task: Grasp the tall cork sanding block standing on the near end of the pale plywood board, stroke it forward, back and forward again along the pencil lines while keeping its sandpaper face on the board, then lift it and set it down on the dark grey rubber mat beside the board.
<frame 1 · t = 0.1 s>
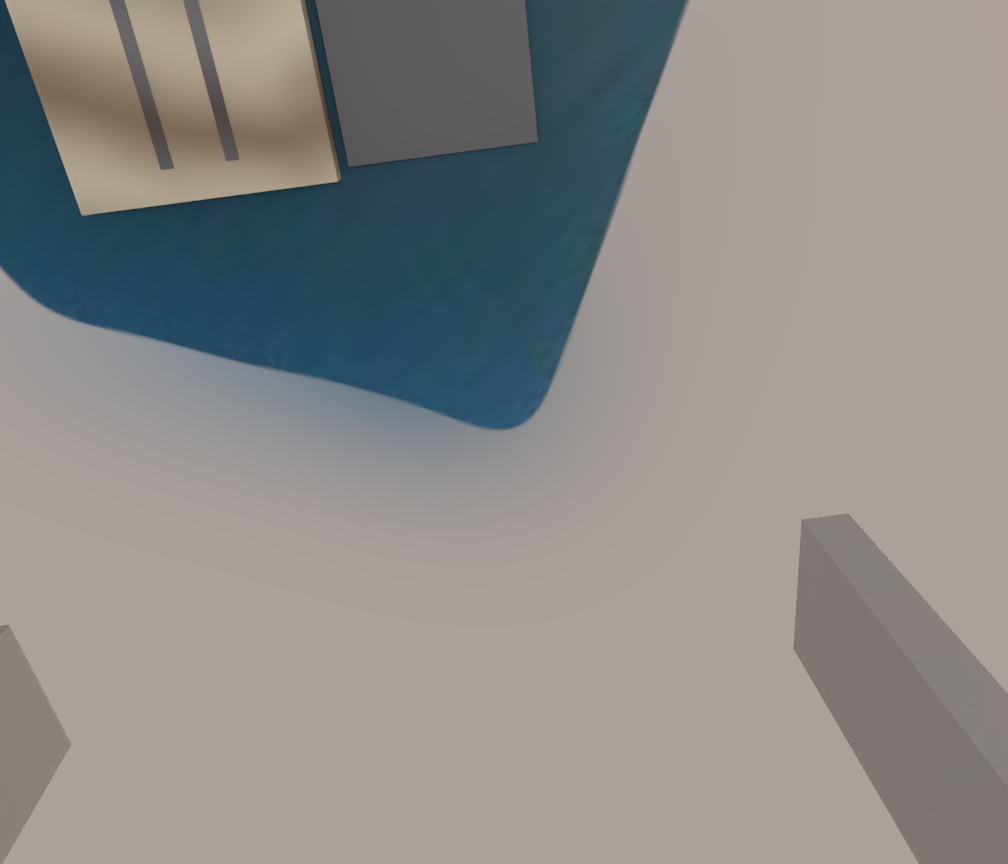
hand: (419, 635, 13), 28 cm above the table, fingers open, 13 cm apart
mat: (422, 10, 33), on the table
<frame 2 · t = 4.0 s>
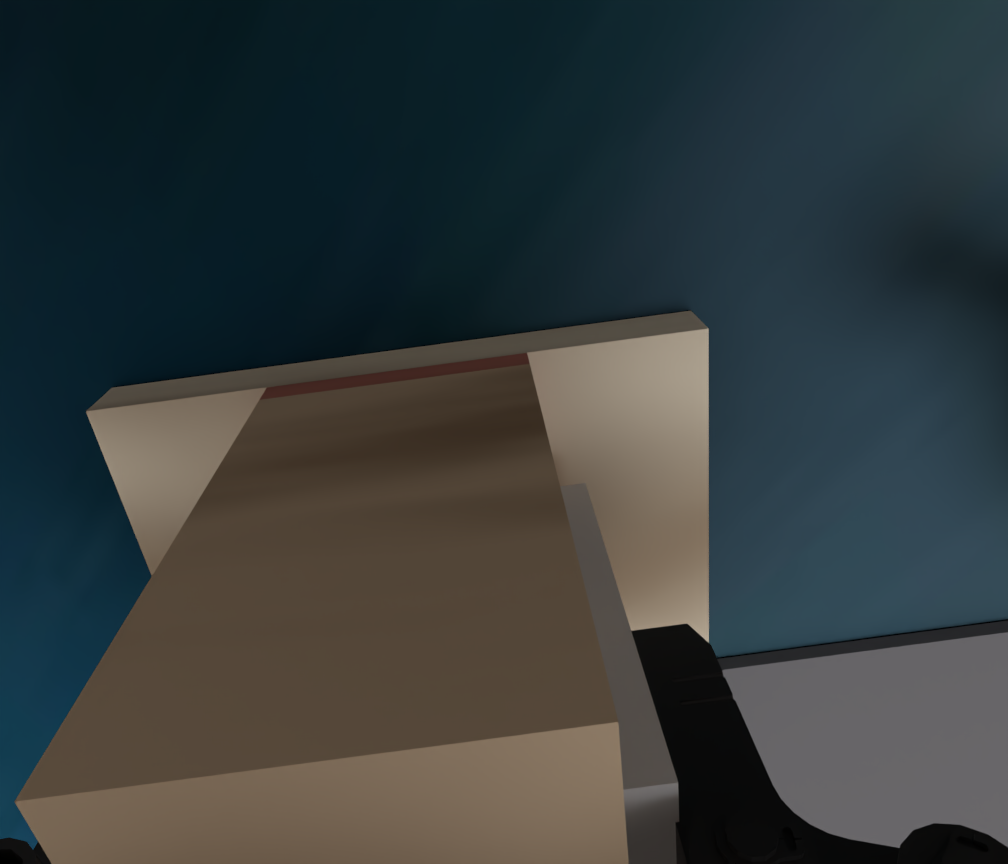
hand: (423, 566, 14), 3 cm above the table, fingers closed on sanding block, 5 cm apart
board: (474, 733, 20), on the table
sanding block: (427, 524, 16), point 1 cm above the table, touching board, gripper
mat: (864, 794, 22), on the table
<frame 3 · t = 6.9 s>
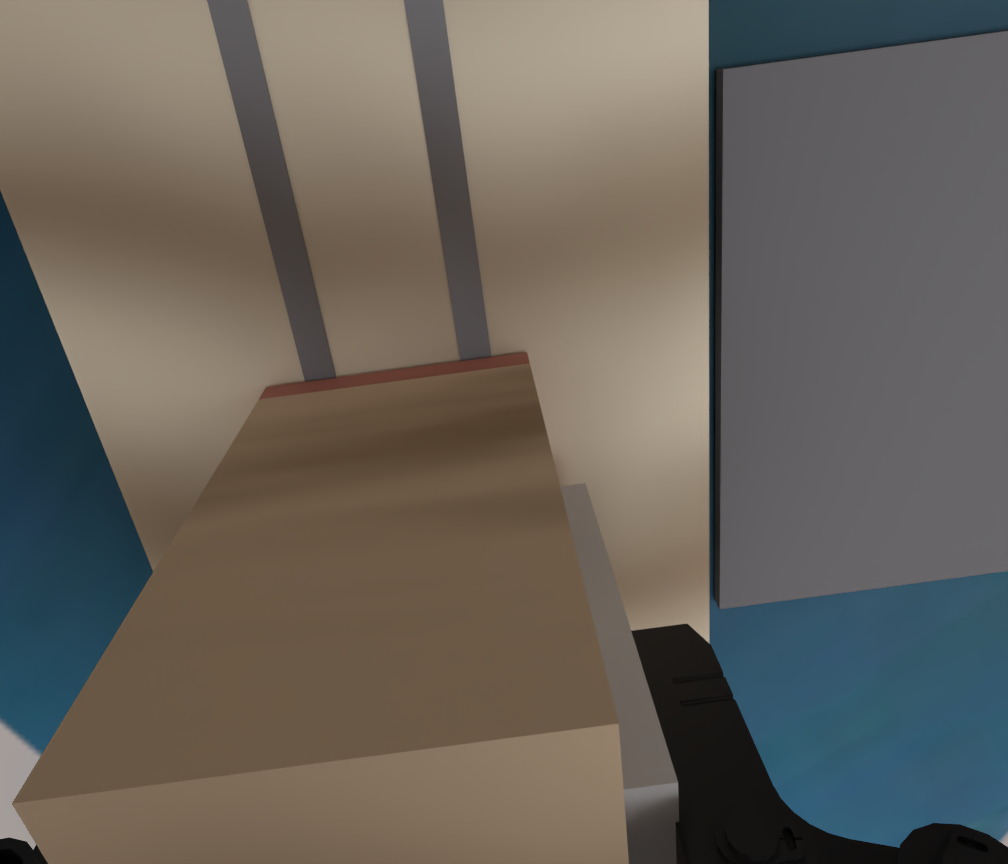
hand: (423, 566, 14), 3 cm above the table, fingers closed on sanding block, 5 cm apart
board: (374, 203, 14), on the table
sanding block: (426, 524, 16), point 1 cm above the table, touching gripper
mat: (922, 349, 16), on the table
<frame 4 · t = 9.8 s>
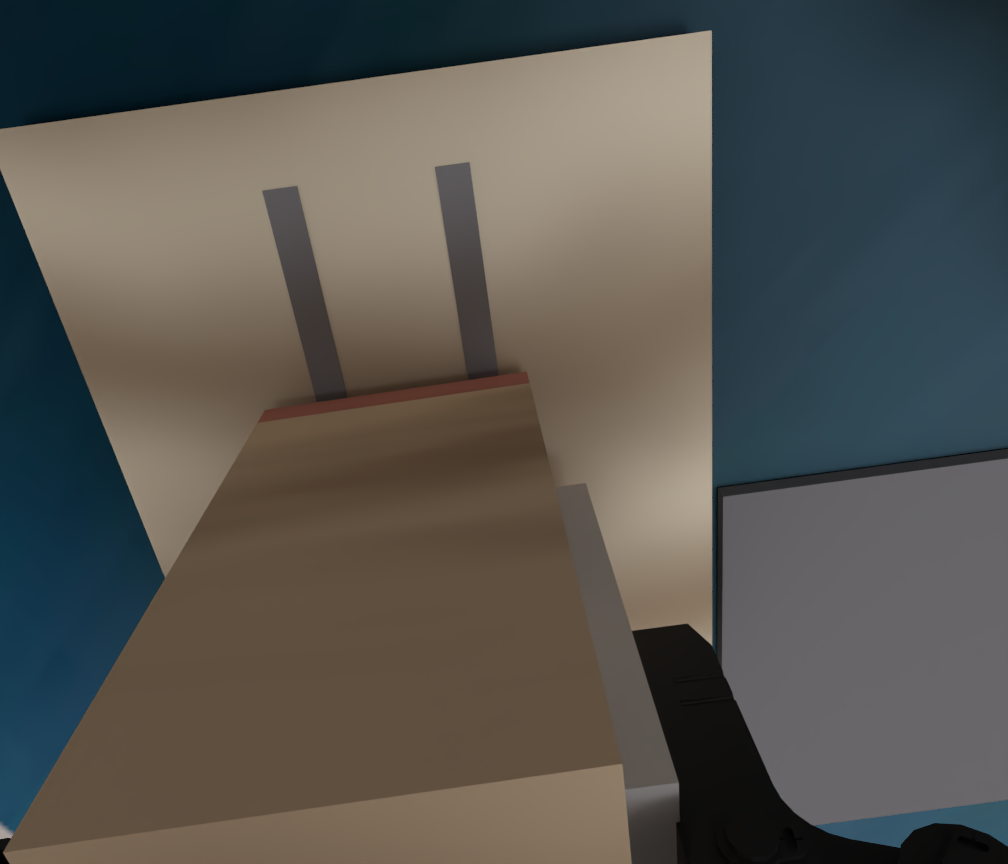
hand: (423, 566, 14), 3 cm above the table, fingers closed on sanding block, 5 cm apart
board: (451, 576, 18), on the table
sanding block: (428, 545, 16), point 2 cm above the table, touching gripper
mat: (883, 656, 20), on the table
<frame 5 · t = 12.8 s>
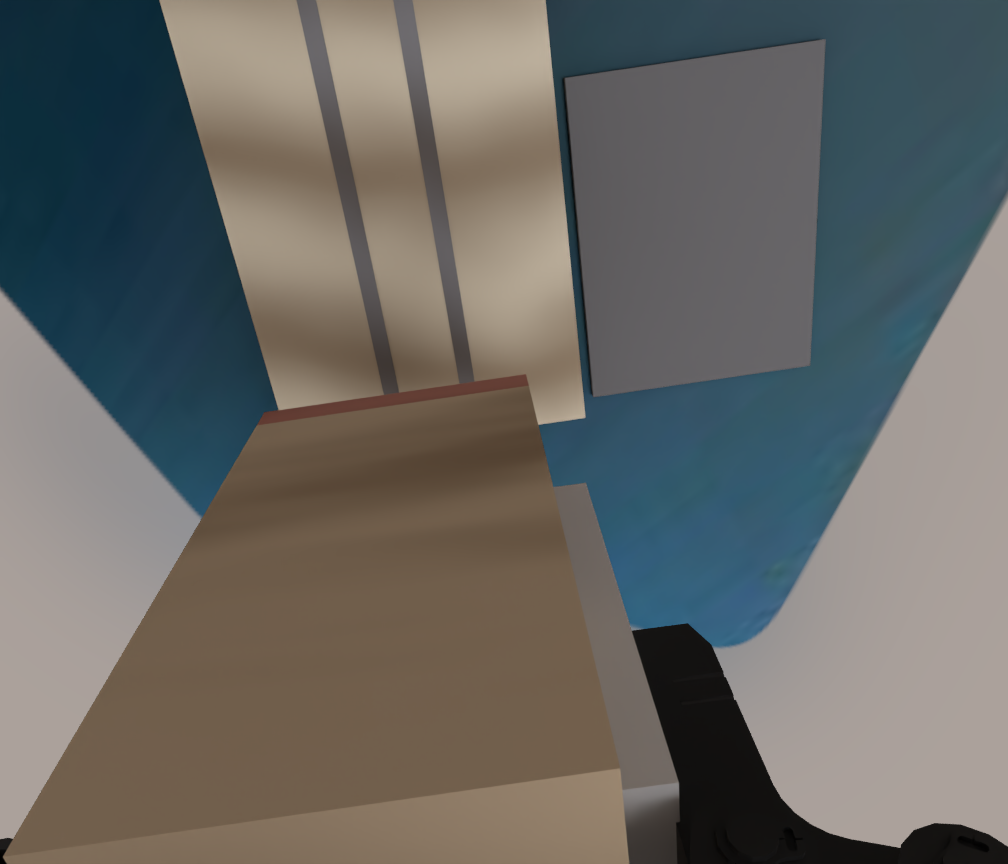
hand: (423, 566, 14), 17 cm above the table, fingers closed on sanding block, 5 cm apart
board: (387, 151, 27), on the table
sanding block: (427, 547, 16), point 15 cm above the table, touching gripper
mat: (695, 232, 29), on the table
when the fingers open (3 cm above the table, at t = 15.6 s): sanding block drops 2 cm, resting on mat.
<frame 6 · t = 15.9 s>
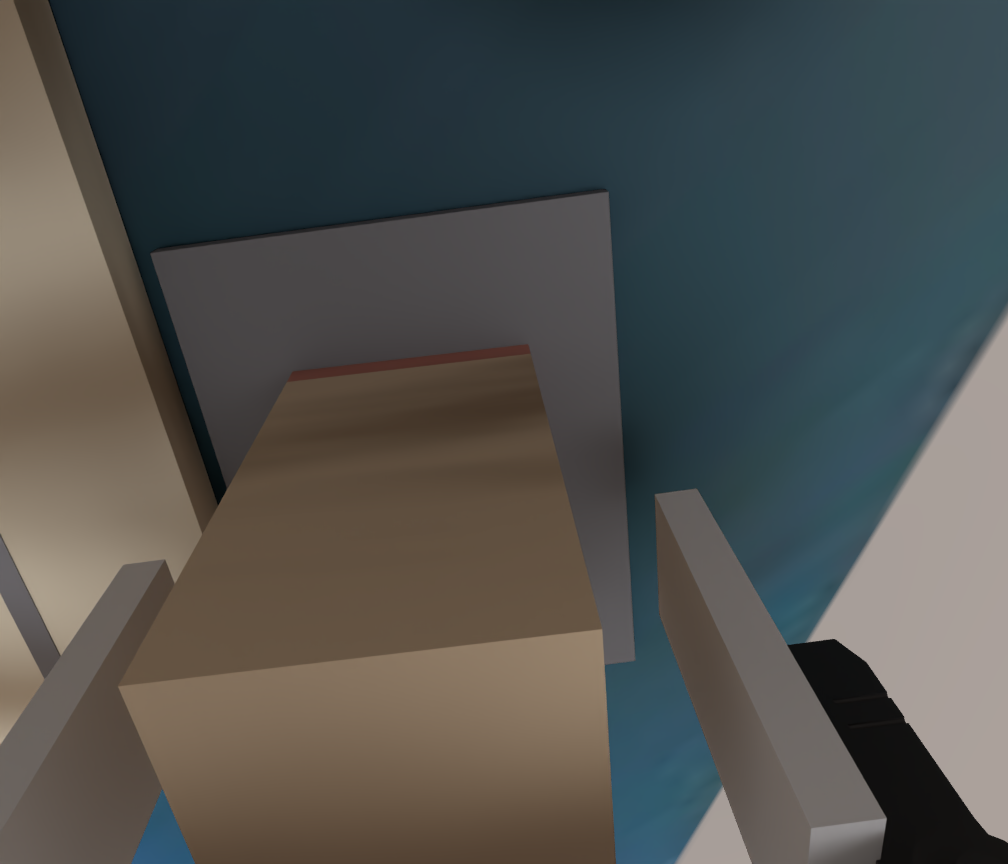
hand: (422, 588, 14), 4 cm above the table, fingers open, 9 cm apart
sanding block: (434, 499, 17), resting on mat
mat: (430, 479, 18), on the table
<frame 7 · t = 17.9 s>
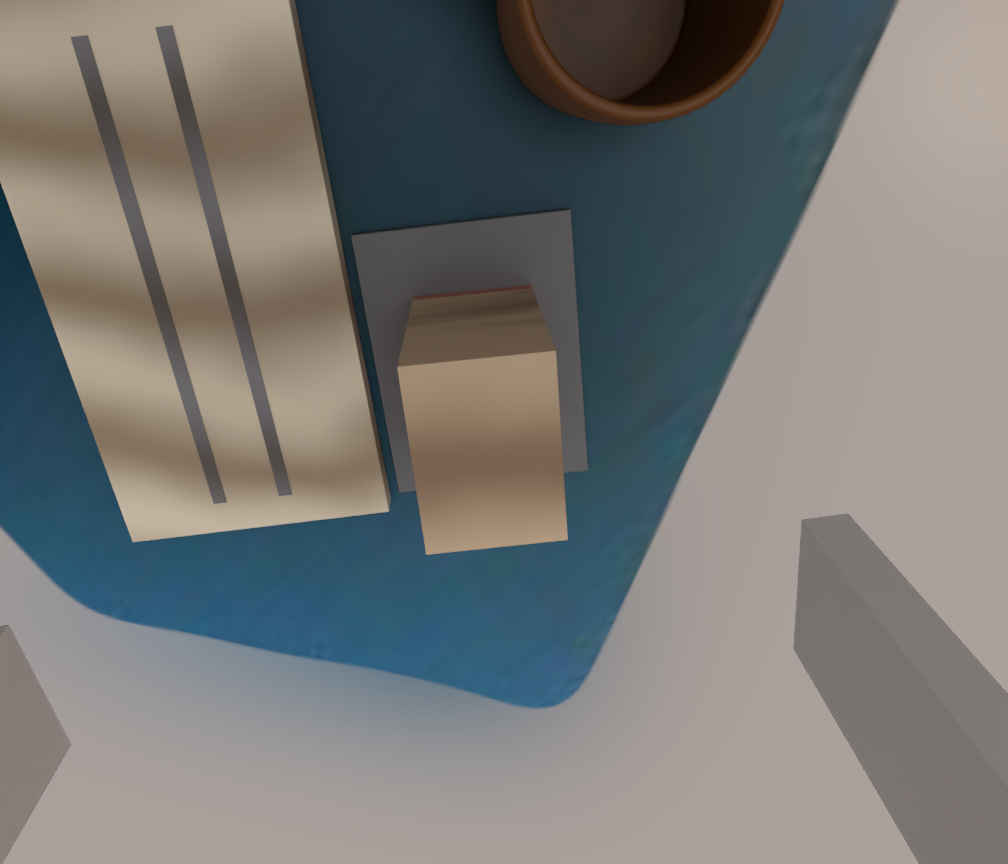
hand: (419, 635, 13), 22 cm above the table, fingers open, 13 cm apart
board: (205, 288, 31), on the table
sanding block: (480, 368, 33), resting on mat
mat: (478, 358, 33), on the table
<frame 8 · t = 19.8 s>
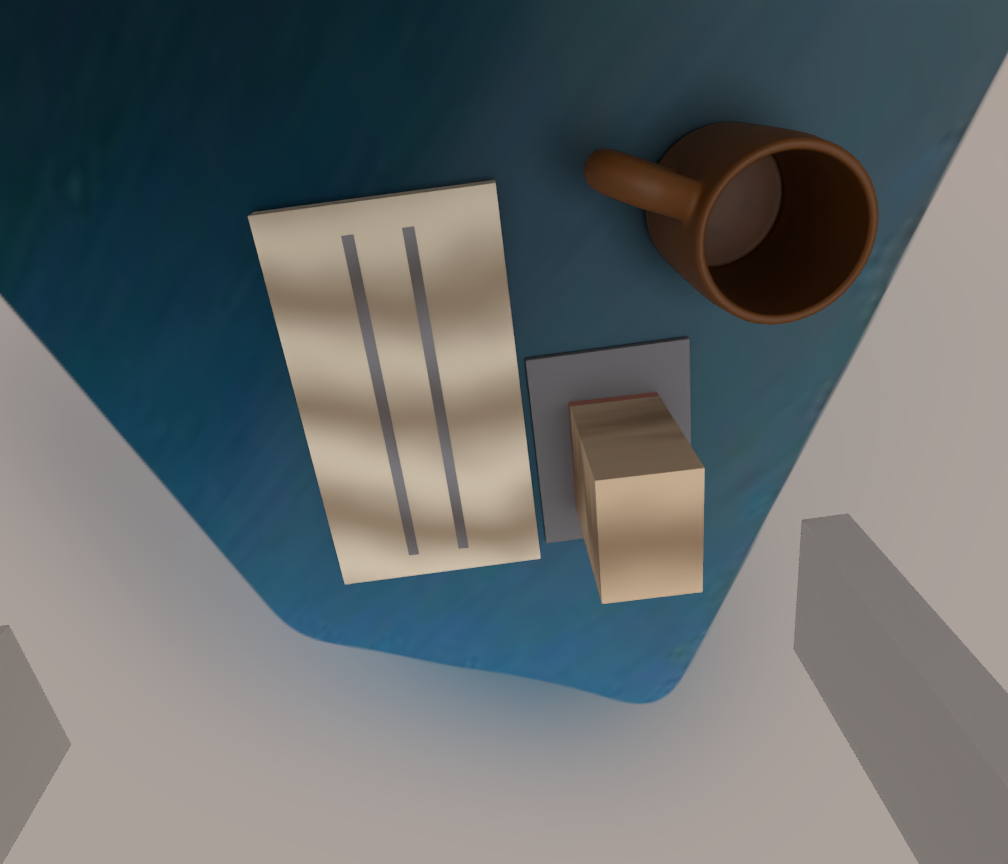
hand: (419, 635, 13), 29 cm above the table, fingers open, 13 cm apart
board: (412, 398, 42), on the table
sanding block: (615, 452, 43), resting on mat
mat: (612, 444, 44), on the table
mug: (674, 186, 38), on the table
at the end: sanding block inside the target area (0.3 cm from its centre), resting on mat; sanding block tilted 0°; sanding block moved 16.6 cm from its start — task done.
